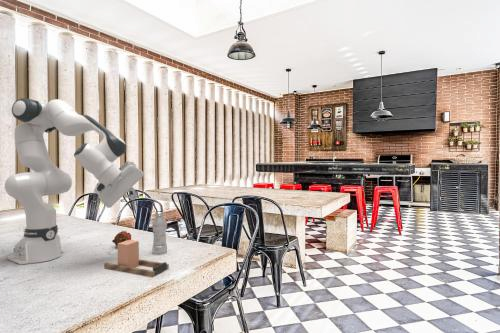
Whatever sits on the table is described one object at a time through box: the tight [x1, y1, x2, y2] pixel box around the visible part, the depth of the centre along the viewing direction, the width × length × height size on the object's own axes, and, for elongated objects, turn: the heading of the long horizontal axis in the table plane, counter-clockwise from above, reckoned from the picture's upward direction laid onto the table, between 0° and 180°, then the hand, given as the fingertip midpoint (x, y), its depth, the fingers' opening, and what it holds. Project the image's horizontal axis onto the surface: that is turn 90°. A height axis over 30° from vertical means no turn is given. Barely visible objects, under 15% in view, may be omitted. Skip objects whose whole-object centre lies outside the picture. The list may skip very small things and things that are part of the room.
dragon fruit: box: [111, 230, 132, 247], centre depth 151 cm, size 8×8×12 cm
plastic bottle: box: [151, 210, 168, 255], centre depth 137 cm, size 6×7×20 cm
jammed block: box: [117, 239, 140, 268], centre depth 118 cm, size 5×6×10 cm
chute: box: [103, 258, 170, 278], centre depth 116 cm, size 24×9×4 cm, turn 67°
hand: (135, 198), depth 128 cm, fingers closed
